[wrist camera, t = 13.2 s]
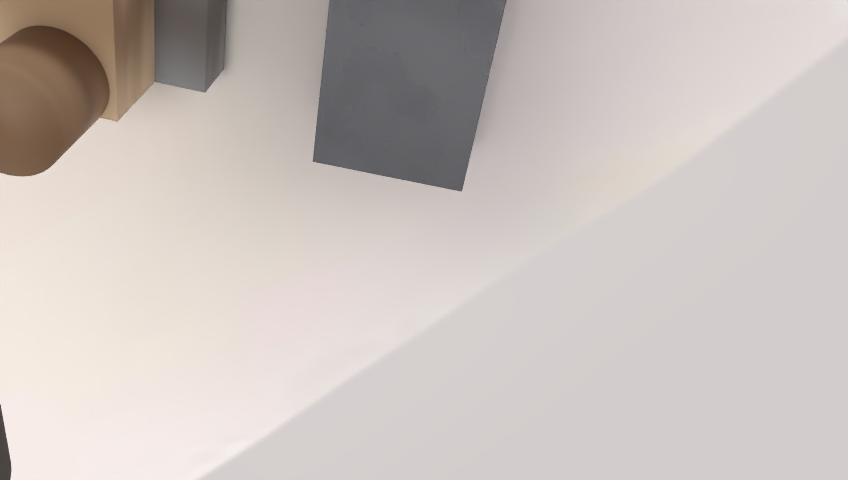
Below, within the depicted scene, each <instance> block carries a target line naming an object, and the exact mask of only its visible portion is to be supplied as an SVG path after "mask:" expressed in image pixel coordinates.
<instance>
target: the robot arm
mask: <svg viewBox="0 0 848 480" xmlns="http://www.w3.org/2000/svg"><path fill="white" fill-rule="evenodd" d="M10 477H11V461H10V455H9V450H8V444H7V438H6V433H5V427H4V422H3V416H2V410H1V405H0V480H10Z"/></svg>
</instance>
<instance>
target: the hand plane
mask: <svg viewBox="0 0 848 480" xmlns="http://www.w3.org/2000/svg"><path fill="white" fill-rule="evenodd" d="M225 23H226V0H0V173H4V174H7V175H13V176H31V175H36V174H39V173H41V172H43V171H45V170H47V169H48V168H49V167H51V166H52V165H53V164H54V163H55V162H56V161H57V160H58V159H59V158H60V157H61V156H62V155H63V154H64V153H65V152H66V151H67V150H68V149H69V148H70V147H71V146H72V145H73V144H74V143H75V142H76V141H77V140H78V139H79V138H80V137H81V136H82V135H83V134H84V133H85V132H86V131H87V130H88V129H89V128H90V127H91V126H92V125H93V124H94V123H95V122H96V121H97V120H98V119H99V118H104V119H109V120H113V121H118V120H119V119H120V118H121V117H122V116H123V115H124V114H125V113H126V112H127V111H128V110H129V109H130V107H131V106H132V105H133V104H134V103H135V102H136V101H137V100H138V99H139V98H140V97H141V96H142V95H143V94H144V93H145V92H146V90H147V89H148V88H149V87H150V86H151V85H152V84H153V83H154V82H159V83H163V84H168V85H173V86H177V87H182V88H187V89H191V90H196V91H201V92H206V91H207V89H208V88H209V87H210V86H211V84H212V83H213V82H214V81H215V79H216V78H217V77H218V76H219V74H220V73H221V72H222V70H223V69H224V46H225Z"/></svg>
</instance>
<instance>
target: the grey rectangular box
mask: <svg viewBox="0 0 848 480" xmlns="http://www.w3.org/2000/svg"><path fill="white" fill-rule="evenodd" d="M505 4H506V0H330V3H329V12H328V22H327V31H326V41H325V50H324V60H323V69H322V79H321V88H320V98H319V107H318V117H317V126H316V136H315V145H314V155H313V162H318V163H323V164H327V165H332V166H337V167H342V168H347V169H352V170H357V171H362V172H367V173H372V174H377V175H382V176H387V177H392V178H397V179H402V180H407V181H412V182H417V183H422V184H427V185H432V186H437V187H442V188H447V189H452V190H457V191H462V188H463V184H464V180H465V175H466V171H467V167H468V163H469V158H470V154H471V150H472V145H473V141H474V137H475V132H476V128H477V124H478V120H479V115H480V111H481V107H482V102H483V98H484V94H485V89H486V85H487V81H488V77H489V72H490V68H491V64H492V59H493V55H494V51H495V47H496V42H497V38H498V34H499V29H500V25H501V21H502V16H503V12H504V8H505Z"/></svg>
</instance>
